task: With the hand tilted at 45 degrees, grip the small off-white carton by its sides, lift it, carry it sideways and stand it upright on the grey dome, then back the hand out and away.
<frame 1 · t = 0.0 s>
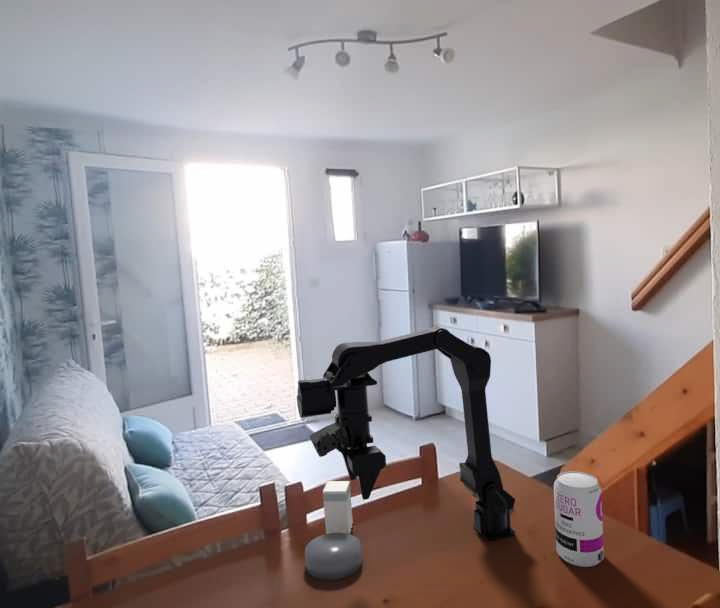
hand: (359, 488, 98), 15 cm above the table, tool pointing down, fingers open, 9 cm apart
grey dome: (334, 562, 100), on the table
supplement can: (579, 556, 96), on the table
carton: (339, 530, 112), on the table
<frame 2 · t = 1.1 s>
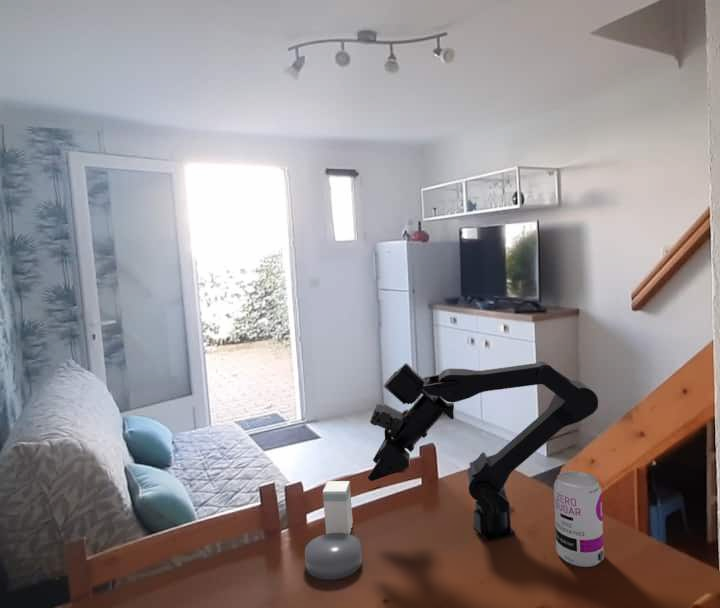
hand: (372, 470, 109), 13 cm above the table, tool tilted 45°, fingers open, 9 cm apart
nothing on the table moved.
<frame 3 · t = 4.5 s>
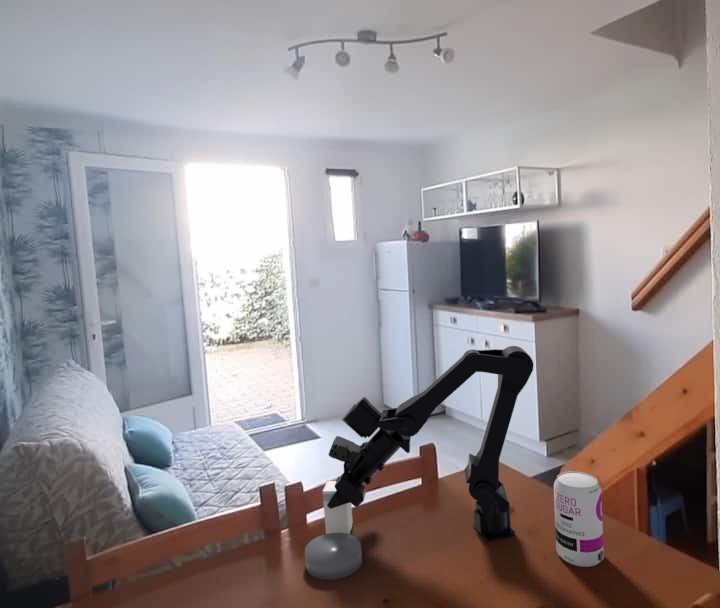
hand: (331, 501, 112), 7 cm above the table, tool tilted 45°, fingers closed on carton, 5 cm apart
carton: (339, 529, 112), on the table, touching gripper
everything else where it was.
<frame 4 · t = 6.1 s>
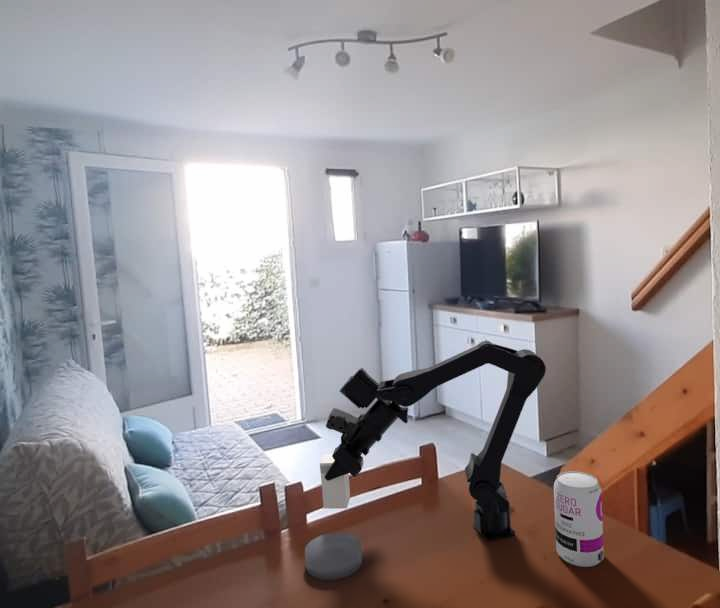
hand: (328, 473, 111), 13 cm above the table, tool tilted 45°, fingers closed on carton, 5 cm apart
carton: (337, 502, 111), point 6 cm above the table, touching gripper
everything else where it was.
when the fingers open (11 cm above the table, at t = 8.0 s): carton drops 1 cm, resting on grey dome.
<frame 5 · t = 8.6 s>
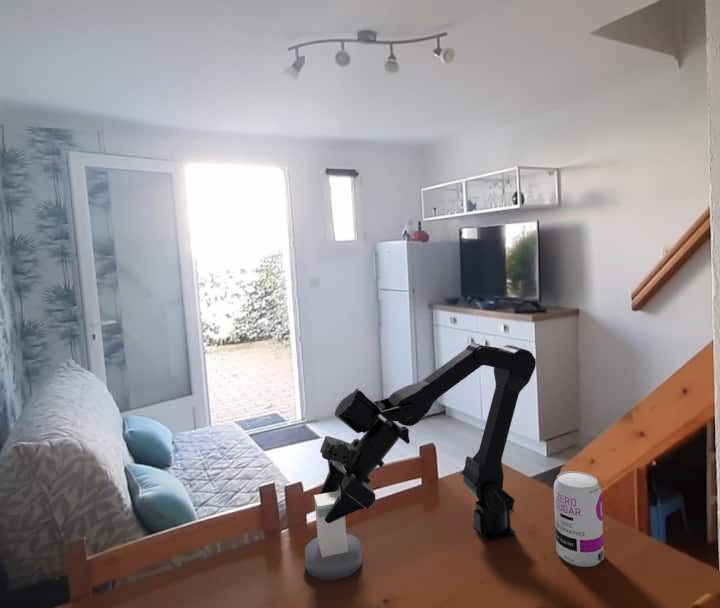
hand: (322, 510, 99), 11 cm above the table, tool tilted 45°, fingers open, 9 cm apart
carton: (332, 547, 100), point 3 cm above the table, touching grey dome
everything else where it was.
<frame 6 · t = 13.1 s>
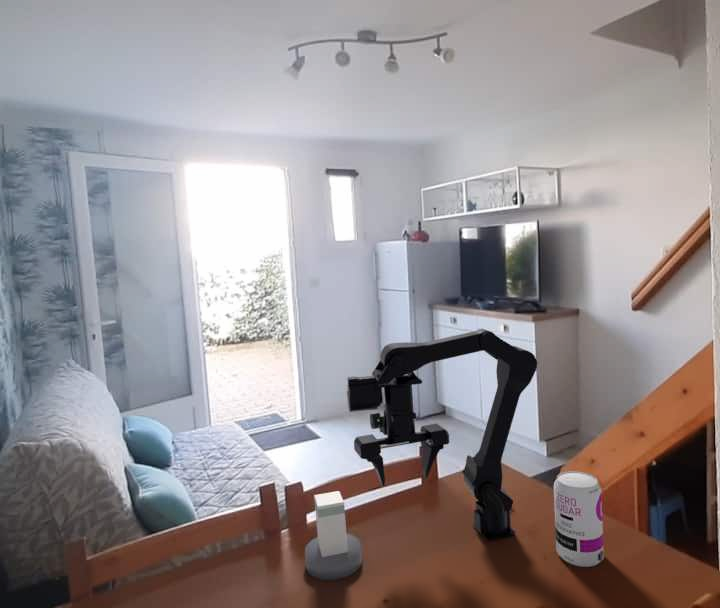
hand: (404, 481, 104), 13 cm above the table, tool pointing down, fingers open, 9 cm apart
nothing on the table moved.
at the end: carton inside the target area on the grey dome (0.0 cm from its centre), point 3.0 cm above the grey dome's base; carton tilted 0°; the gripper is holding nothing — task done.
